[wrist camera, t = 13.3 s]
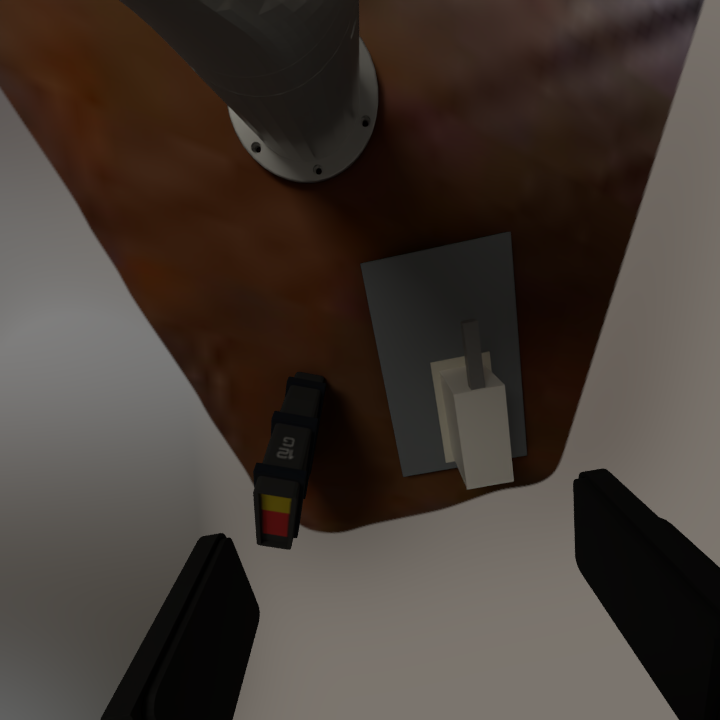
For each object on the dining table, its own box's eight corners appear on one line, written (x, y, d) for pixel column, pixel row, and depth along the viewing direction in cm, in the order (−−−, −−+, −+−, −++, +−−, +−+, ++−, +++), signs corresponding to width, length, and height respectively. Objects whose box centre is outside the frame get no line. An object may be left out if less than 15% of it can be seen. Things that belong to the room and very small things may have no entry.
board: (360, 263, 35) (360, 266, 30) (505, 232, 34) (528, 230, 29) (402, 470, 42) (407, 498, 37) (522, 449, 41) (543, 475, 36)
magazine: (332, 352, 36) (301, 496, 25) (319, 428, 45) (293, 558, 34) (294, 345, 36) (247, 487, 25) (289, 423, 45) (253, 552, 34)
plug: (430, 314, 35) (444, 328, 29) (475, 304, 35) (498, 317, 29) (452, 454, 40) (467, 489, 34) (491, 446, 39) (513, 481, 34)
